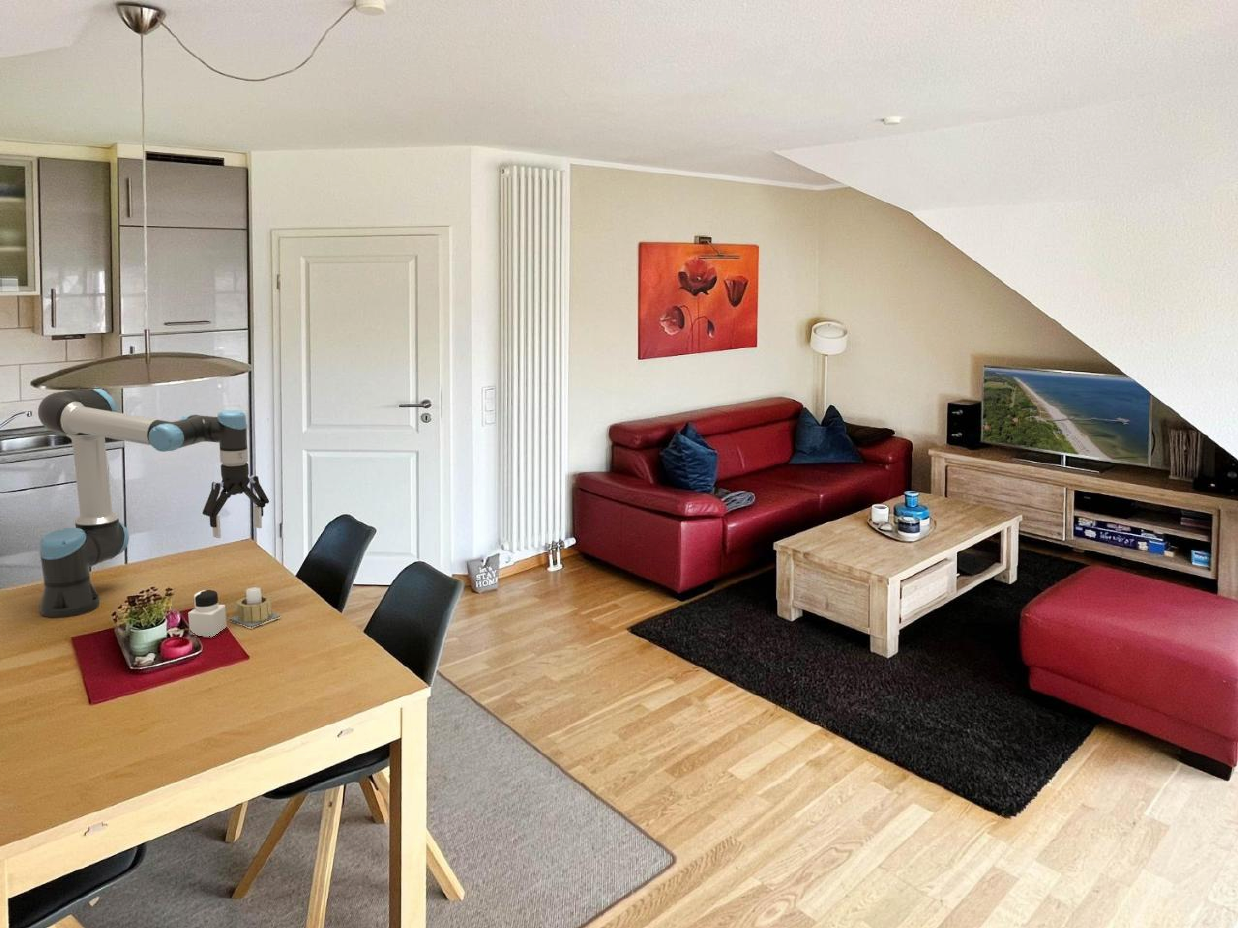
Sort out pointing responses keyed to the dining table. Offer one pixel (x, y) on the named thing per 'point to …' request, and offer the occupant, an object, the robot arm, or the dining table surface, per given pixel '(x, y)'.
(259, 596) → the post stand
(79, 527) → the robot arm
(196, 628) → the medicine bottle
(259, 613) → the ring
